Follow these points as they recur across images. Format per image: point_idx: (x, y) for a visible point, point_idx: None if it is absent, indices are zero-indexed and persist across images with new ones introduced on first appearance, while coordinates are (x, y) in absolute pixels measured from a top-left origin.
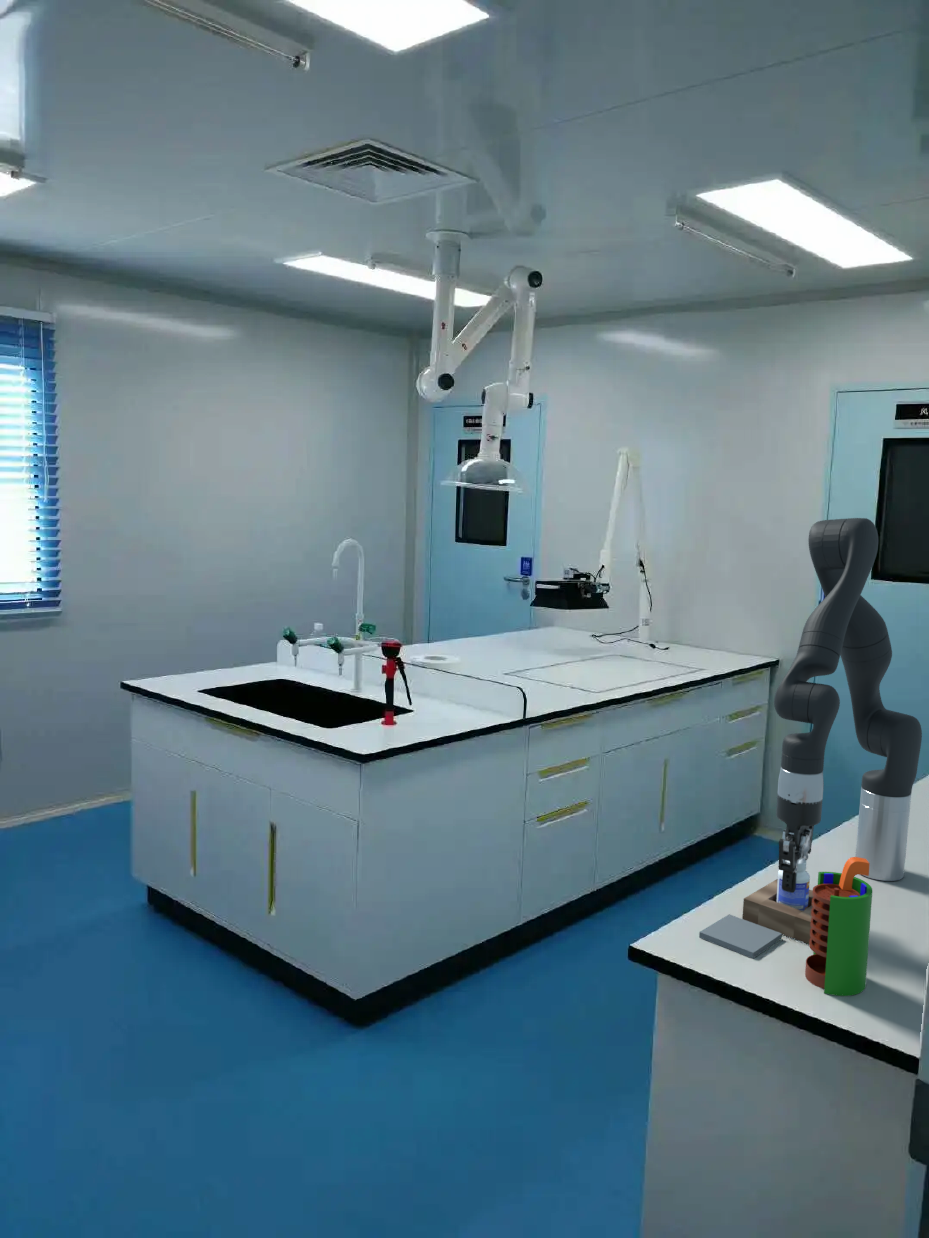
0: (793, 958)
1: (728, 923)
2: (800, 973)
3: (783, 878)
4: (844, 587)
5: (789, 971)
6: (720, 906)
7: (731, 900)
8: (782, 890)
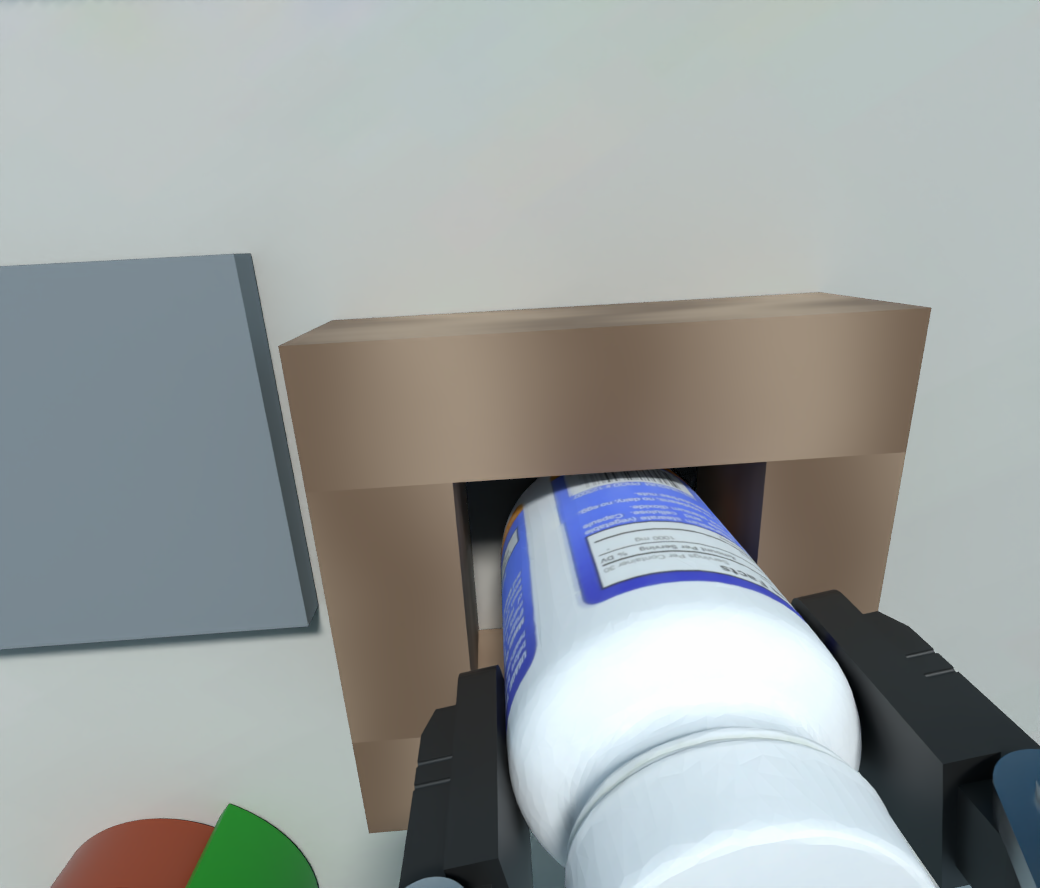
0: (185, 737)
1: (101, 342)
2: (90, 817)
3: (456, 771)
4: None
5: (55, 785)
6: (387, 66)
7: (559, 62)
8: (509, 629)
